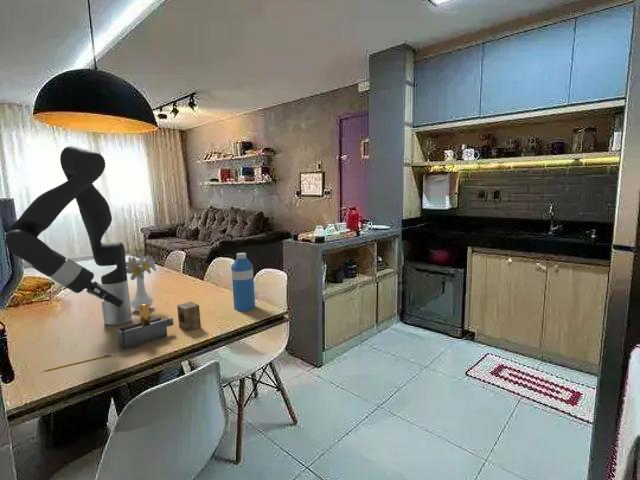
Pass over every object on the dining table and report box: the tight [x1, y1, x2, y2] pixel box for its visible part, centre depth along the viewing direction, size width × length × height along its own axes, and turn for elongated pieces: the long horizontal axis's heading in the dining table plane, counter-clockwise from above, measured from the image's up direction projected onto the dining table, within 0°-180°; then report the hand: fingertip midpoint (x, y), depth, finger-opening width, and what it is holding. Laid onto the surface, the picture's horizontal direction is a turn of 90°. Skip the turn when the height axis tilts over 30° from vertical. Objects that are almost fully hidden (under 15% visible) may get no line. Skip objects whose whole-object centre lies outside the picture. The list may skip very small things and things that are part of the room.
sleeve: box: [116, 316, 168, 351], centre depth 123 cm, size 15×5×6 cm, turn 136°
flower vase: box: [126, 253, 157, 312], centre depth 156 cm, size 13×18×25 cm
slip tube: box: [124, 303, 174, 331], centre depth 124 cm, size 16×3×11 cm, turn 136°
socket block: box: [176, 301, 202, 332], centre depth 135 cm, size 6×7×9 cm
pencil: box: [39, 353, 113, 373], centre depth 109 cm, size 19×1×1 cm, turn 122°
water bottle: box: [230, 252, 256, 312], centre depth 155 cm, size 9×9×25 cm
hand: (117, 301), depth 116 cm, fingers open, 8 cm apart
